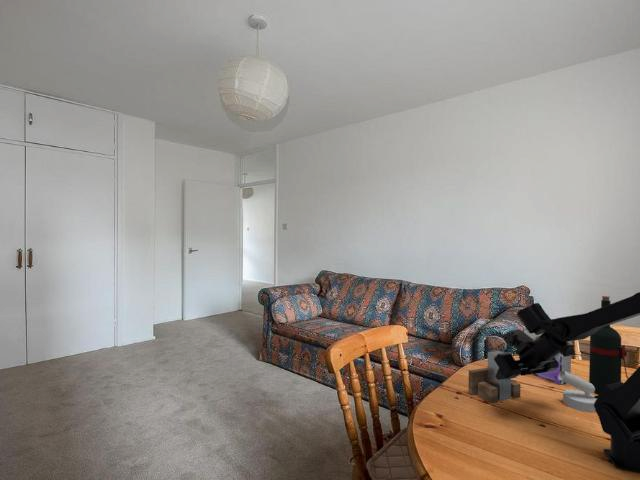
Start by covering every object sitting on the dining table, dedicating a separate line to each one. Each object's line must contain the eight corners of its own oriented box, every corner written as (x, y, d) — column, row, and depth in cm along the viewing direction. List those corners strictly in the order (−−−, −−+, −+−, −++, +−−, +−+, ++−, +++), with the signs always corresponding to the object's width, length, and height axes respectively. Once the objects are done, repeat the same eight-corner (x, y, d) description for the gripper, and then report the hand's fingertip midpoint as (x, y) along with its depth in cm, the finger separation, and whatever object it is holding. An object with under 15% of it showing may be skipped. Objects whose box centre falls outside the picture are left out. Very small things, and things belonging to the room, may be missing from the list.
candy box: (521, 370, 128) (521, 325, 128) (531, 368, 131) (532, 323, 131) (560, 385, 116) (561, 335, 116) (571, 382, 118) (572, 333, 118)
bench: (523, 396, 107) (523, 373, 107) (487, 403, 102) (488, 379, 102) (502, 386, 114) (502, 365, 114) (468, 393, 109) (468, 370, 109)
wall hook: (552, 365, 107) (590, 367, 105) (552, 396, 108) (589, 399, 106) (566, 376, 99) (607, 379, 97) (566, 410, 99) (606, 413, 97)
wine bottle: (629, 402, 104) (631, 300, 103) (586, 391, 111) (588, 296, 110) (632, 394, 109) (633, 297, 109) (591, 384, 116) (592, 293, 116)
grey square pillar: (510, 398, 106) (511, 355, 106) (499, 400, 104) (500, 357, 104) (498, 392, 110) (498, 350, 110) (487, 394, 108) (487, 352, 108)
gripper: (548, 320, 102) (515, 347, 113) (499, 325, 96) (469, 354, 106) (576, 355, 95) (538, 381, 105) (525, 363, 88) (490, 390, 99)
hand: (508, 375), depth 104 cm, fingers open, 9 cm apart
